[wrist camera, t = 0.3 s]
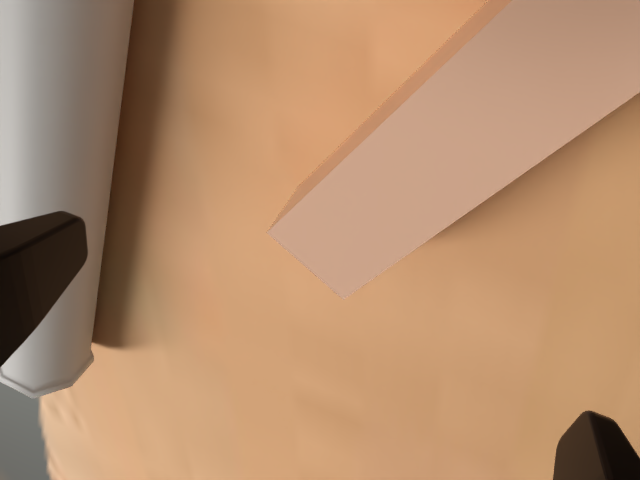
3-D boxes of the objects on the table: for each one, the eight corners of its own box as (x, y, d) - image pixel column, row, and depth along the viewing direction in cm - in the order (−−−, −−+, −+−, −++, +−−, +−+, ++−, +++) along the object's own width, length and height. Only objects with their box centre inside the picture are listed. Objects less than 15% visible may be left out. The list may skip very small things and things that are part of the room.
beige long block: (761, -62, 14) (831, -43, 11) (365, 242, 24) (343, 299, 21) (671, -182, 13) (720, -196, 10) (300, 183, 23) (266, 232, 20)
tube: (-78, -129, 16) (-26, 352, 31) (29, -51, 14) (28, 414, 30) (80, -108, 20) (57, 310, 35) (176, -45, 18) (109, 362, 34)
